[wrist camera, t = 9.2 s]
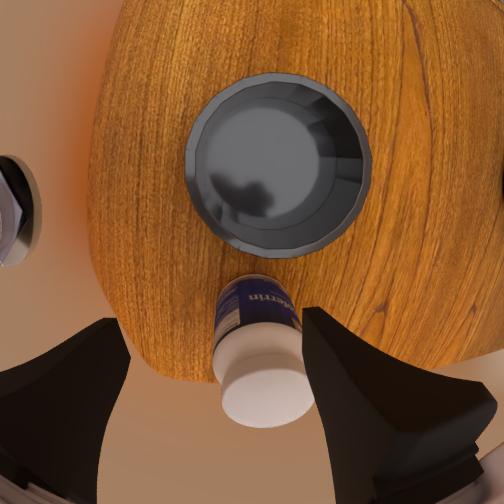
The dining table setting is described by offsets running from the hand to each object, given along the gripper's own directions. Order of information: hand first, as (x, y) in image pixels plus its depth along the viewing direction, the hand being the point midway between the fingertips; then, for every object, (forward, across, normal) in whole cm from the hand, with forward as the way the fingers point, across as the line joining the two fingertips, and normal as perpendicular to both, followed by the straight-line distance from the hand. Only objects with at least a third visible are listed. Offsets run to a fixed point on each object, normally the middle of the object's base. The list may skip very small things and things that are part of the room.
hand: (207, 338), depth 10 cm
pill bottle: (+11, -2, +5) cm, 12 cm away
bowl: (+10, -4, -6) cm, 12 cm away
